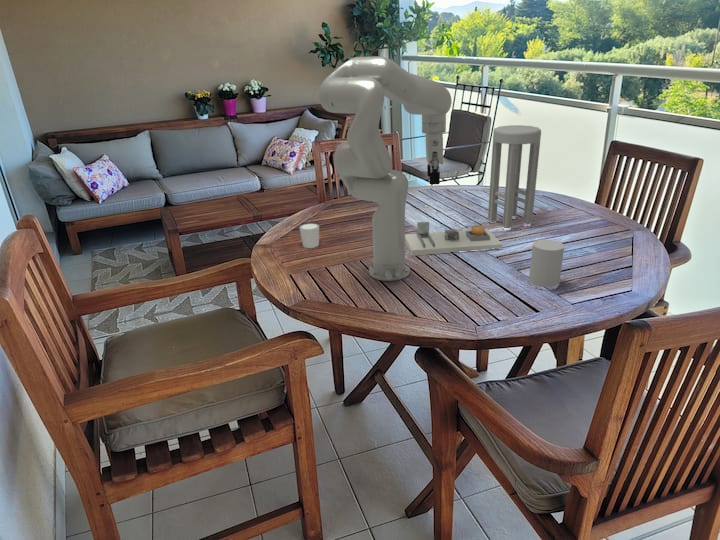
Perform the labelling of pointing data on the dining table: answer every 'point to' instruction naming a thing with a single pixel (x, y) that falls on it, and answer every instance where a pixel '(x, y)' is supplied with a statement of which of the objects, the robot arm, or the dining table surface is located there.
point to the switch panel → (450, 242)
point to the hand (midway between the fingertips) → (433, 180)
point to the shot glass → (310, 235)
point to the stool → (514, 171)
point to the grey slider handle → (423, 229)
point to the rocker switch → (451, 233)
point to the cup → (546, 263)
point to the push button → (478, 230)
